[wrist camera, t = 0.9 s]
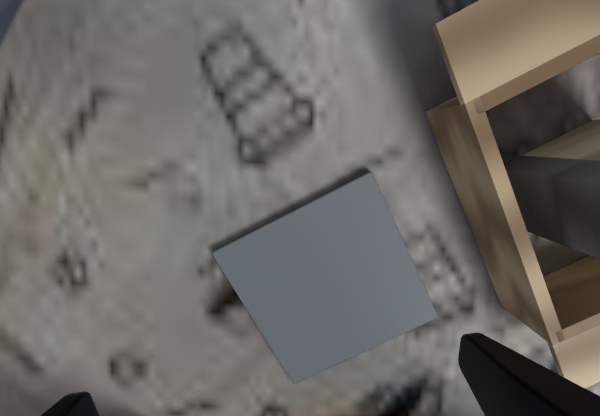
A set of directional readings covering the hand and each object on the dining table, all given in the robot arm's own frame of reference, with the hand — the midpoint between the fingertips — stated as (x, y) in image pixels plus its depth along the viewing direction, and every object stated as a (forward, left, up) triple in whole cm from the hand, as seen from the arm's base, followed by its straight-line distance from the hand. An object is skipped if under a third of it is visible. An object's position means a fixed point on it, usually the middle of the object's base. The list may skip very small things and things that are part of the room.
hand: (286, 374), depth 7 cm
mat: (-5, 0, -14) cm, 15 cm away
